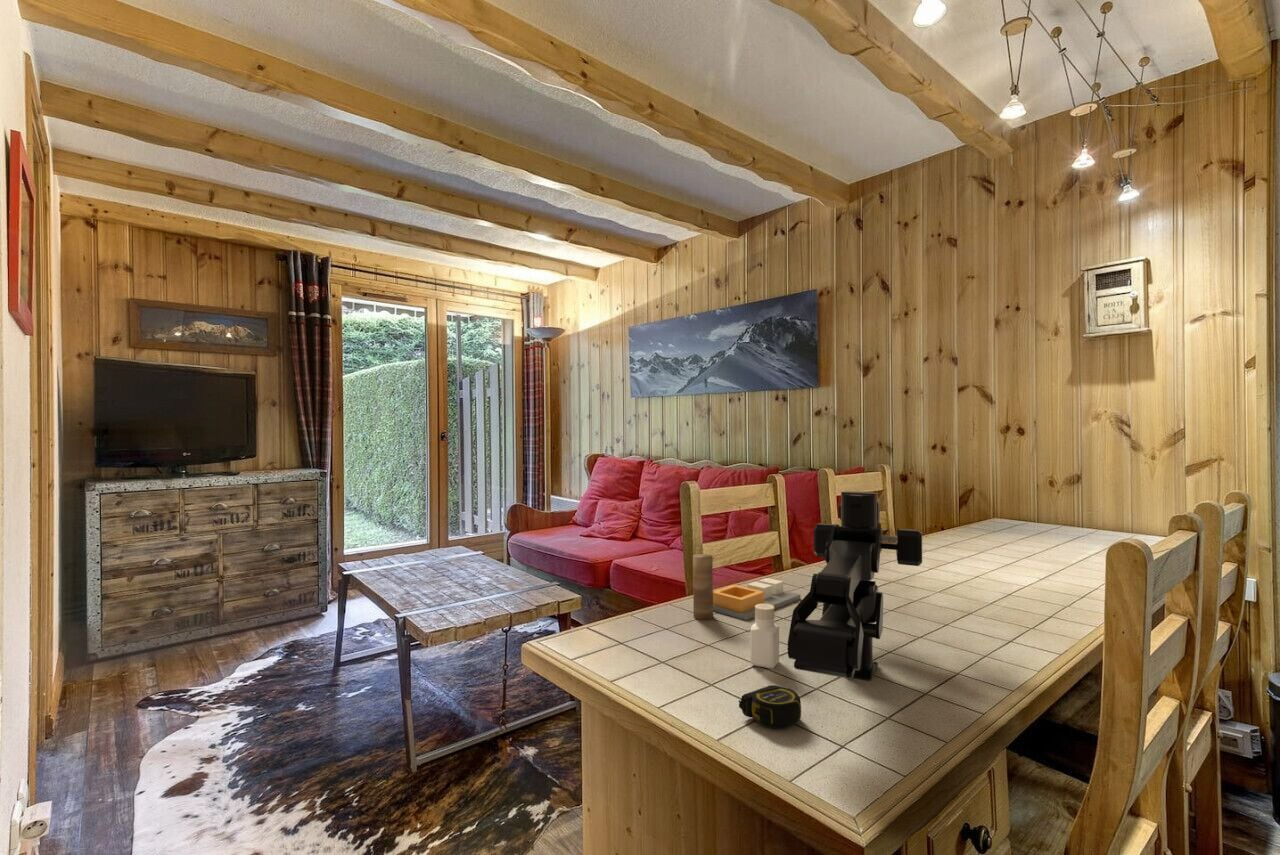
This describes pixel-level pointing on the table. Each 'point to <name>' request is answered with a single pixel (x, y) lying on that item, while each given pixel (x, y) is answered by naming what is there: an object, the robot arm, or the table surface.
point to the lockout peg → (703, 586)
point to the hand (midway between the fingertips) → (871, 537)
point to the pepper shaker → (764, 637)
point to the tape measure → (772, 706)
